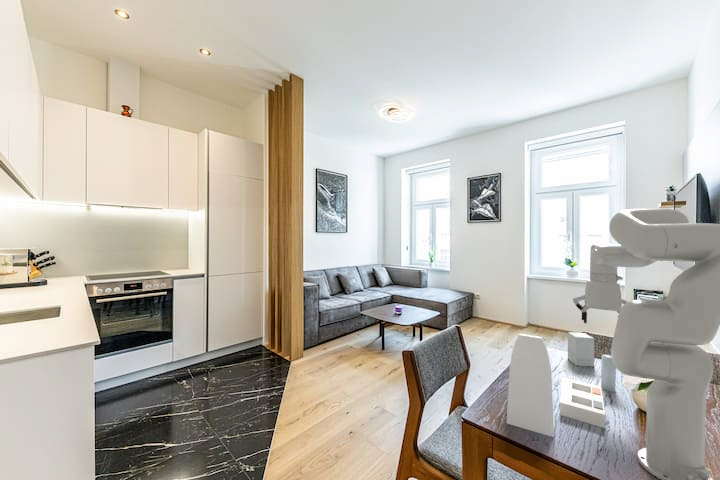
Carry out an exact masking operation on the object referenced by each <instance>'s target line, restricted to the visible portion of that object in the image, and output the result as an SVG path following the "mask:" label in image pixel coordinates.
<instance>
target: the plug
mask: <svg viewBox="0 0 720 480" xmlns="http://www.w3.org/2000/svg"><path fill="white" fill-rule="evenodd" d="M600 367H601V373H600V374H601V377H600V381H601V384H600V385H601V386H600V387H601V390H604V391H607V392H612V393H615V392H616V385H617V384H616V381H617V379H616V375H617V372H616V371H617V369H616V367H615V366H614V364H613V362H612V358H611V354H601V366H600Z"/></svg>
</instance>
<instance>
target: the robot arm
mask: <svg viewBox="0 0 720 480" xmlns="http://www.w3.org/2000/svg"><path fill="white" fill-rule="evenodd" d="M608 229H609V233H610V235H611V237H612V238H613V240H614V241H615V242H617V244H613V243H593V244H591V246H590V255H589V256H590V259H589V260H590V263H589V265H590V267H589V279H587V280H586V283H585V289H584V294H583V295H579V296H576V297H573V299H572V301H573V303H574V305H575V306H576V308H577V309H579V311H580V312H581V321H583V323H584V324H587V322H588V320H587V319H588V318H587V317H588V312H587V311H588V310H589V309H595V310H600V311H601V310H602V311H610V312H611V311H612V312H617V314H618V315H617V320H616V325H615V329H614V333H613V337H612V341H611V347H610V356H611V358H612V362H613V364H614V366H615V367H616V371H617V370H618V372H620V373H622V375H624V376H629V377H635V378H640V379H641V378H642V379H649V380H653V381H652V382H651V384H649V386H648V388H647V392H646V423H645V424H646V425H645V426H646V427H645V428H646V431H645V432H646V435H645V438H646V439H645V443H646V444H645V447H644V448H640V449H639V450H638V451H637V453H636V454H637V455H636V458H637V460H638V463H639V464H640V465H641V466H642V467H643V468H644V469H645V470H646V471H647V472H649V473H650V474H651V475H653V476H654V477H655V476H656V478H657V479H659V480H660V479H661V480H714V478H713V477H712V476H711V469H710V468H708V467H706V466H705V452H706V451H705V448H706V446H705V445H706V444H705V443H706V407H707V405H706V403H707V397H708V396H707V395H708V391H709V386H710V383H711V382H712V378H713V375H714V363H713V360H712V358H711V356H710V354H709V353H708V352H707V351H706V350H704V349H703V348H702V347H700V346H705V345H708V344H710V343H711V342H712V341H713V340H714V339H715V336H716V335H717V333H718V330H719V328H720V224H719V223H708V222H707V223H703V222H702V223H701V222H699V223H697V222H695V223H694V222H692V223H690V222H689V219H688V217H687V216H686V215H685V213H683V212H681V211H680V210H679V211H678V210H676V209H673V208H665V207H664V208H662V207H661V208H660V207H659V208H633V209H632V208H631V209H630V208H629V209H628V208H627V209H623V210H620V211H618V212H616V213H615V214H614V215H613V217H612V218H611V220H610V222H609V228H608ZM656 262H691V263H693V262H694V263H695V264H693V265H692V266H691V267H689V268H687V269H686V270H684V271H683V272H681V273H680V274H679V275H678V276H676V278H674V280H673V281H672V282H671V284H670V286H669V290H668V293H667V296H666V297H665V298H664V299H661V300H660V299H659V300H653V299H632V300H629V301H627V300H625V299H624V298H622V290H621V285H620V282H619V281H623V280H624V279H623V278H624V277H623V275H619V274H618V268H645V267H647V266H650V265H652V264H654V263H656ZM583 300H584V305H582V304H581V303H580V302H581V301H583Z"/></svg>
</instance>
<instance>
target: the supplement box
mask: <svg viewBox="0 0 720 480" xmlns="http://www.w3.org/2000/svg"><path fill="white" fill-rule="evenodd" d="M568 359H569V360H568ZM567 360H568V361H570V362H571V364H573V363H574V365H575V366H576V365H579V366H578V367H587V366H594V367H595V337H593V336H591V335H590V334H588V333H586V332H576V331H575V332H573V331H570V332H567Z"/></svg>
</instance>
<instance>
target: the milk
mask: <svg viewBox="0 0 720 480" xmlns="http://www.w3.org/2000/svg"><path fill="white" fill-rule="evenodd" d="M510 357H511V358H510V363H509V376H508V389H507V390H508V392H507V407H506V409H507V410H506V424H507V425H509V426H510V425H511V426H514V427H517V428H521V429H525V430H527V431H528V430H529V431H531V432H535V433H539V434H541V435H545V436H547V437H548V436H549V437H552V438H555V431H554V430H555V428H554V427H555V425H554V405H553V404H554V402H553V380H552V379H553V378H552V377H553V376H552V366H551V359H550V355H549V351H548V350H547V346H546V343H545V342H544V340H543V338H542V336H537V335H530V334H524V333H518V336H517V338H516V340H515V342H514V344H513V348H512V351H511V356H510Z"/></svg>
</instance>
